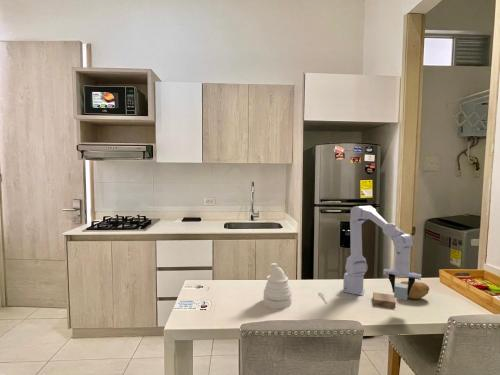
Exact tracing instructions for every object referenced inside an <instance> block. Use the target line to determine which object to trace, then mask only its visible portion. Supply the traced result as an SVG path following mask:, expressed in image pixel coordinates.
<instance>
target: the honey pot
mask: <svg viewBox="0 0 500 375" xmlns="http://www.w3.org/2000/svg"><path fill="white" fill-rule="evenodd" d="M270 264H271V268H272V269H273V270H272V271H271V272H270V274H269V275H267V276H266V280H267V281H266V283H265V287H264V289H263V298H262V299H263V305H264V306H266V307H268V308H270V309H276V310H282V309H287V308H289V307H291V306H292V301H293V300H292V299H293V298H292V297H293V296H292V294H293V293H292V290H291V287H290V284H289V281H288V280H289V277H288V276H287V275H286V273H285V272H284V270H283V269H282V268H281V267H280V266H278V263H276V262H273V263H270Z"/></svg>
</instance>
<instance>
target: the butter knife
mask: <svg viewBox="0 0 500 375" xmlns="http://www.w3.org/2000/svg"><path fill="white" fill-rule="evenodd" d="M318 295H319V298H320V299H321V300H322V301H323V302H324V304H325V305H326V304H328V301H327V300H326V298H325V296H324V294H323V293H322V292H321V291H320V292H318Z"/></svg>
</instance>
